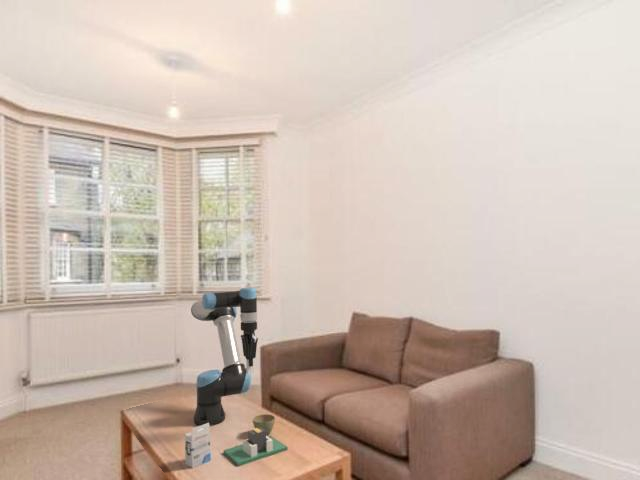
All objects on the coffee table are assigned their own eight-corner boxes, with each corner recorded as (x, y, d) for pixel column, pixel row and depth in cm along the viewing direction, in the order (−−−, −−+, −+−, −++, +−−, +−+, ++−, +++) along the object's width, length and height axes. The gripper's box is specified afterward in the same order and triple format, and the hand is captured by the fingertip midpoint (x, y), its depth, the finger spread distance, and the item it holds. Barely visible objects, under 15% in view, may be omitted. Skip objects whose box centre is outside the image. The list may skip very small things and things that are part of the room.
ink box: (203, 456, 173) (202, 419, 173) (211, 460, 170) (210, 422, 170) (184, 464, 166) (184, 426, 167) (192, 468, 163) (191, 429, 164)
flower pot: (271, 439, 187) (271, 422, 187) (249, 438, 189) (249, 421, 189) (278, 430, 197) (277, 414, 197) (257, 429, 199) (257, 413, 199)
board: (223, 453, 175) (223, 440, 175) (270, 438, 188) (270, 426, 188) (238, 466, 164) (238, 452, 164) (287, 449, 177) (287, 436, 177)
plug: (248, 450, 174) (248, 430, 174) (261, 446, 178) (261, 426, 178) (253, 453, 171) (252, 433, 171) (266, 449, 174) (266, 429, 175)
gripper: (235, 320, 202) (236, 371, 201) (247, 323, 191) (248, 377, 190) (249, 319, 206) (250, 368, 205) (262, 321, 196) (263, 374, 195)
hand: (249, 372), depth 198 cm, fingers closed
